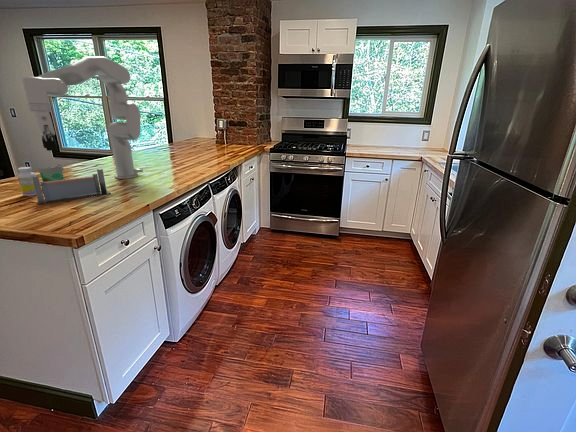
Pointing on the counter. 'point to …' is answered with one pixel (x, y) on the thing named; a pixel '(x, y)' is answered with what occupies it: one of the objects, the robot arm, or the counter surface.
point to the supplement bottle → (26, 181)
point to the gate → (70, 187)
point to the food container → (51, 173)
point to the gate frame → (42, 201)
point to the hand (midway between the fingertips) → (49, 148)
